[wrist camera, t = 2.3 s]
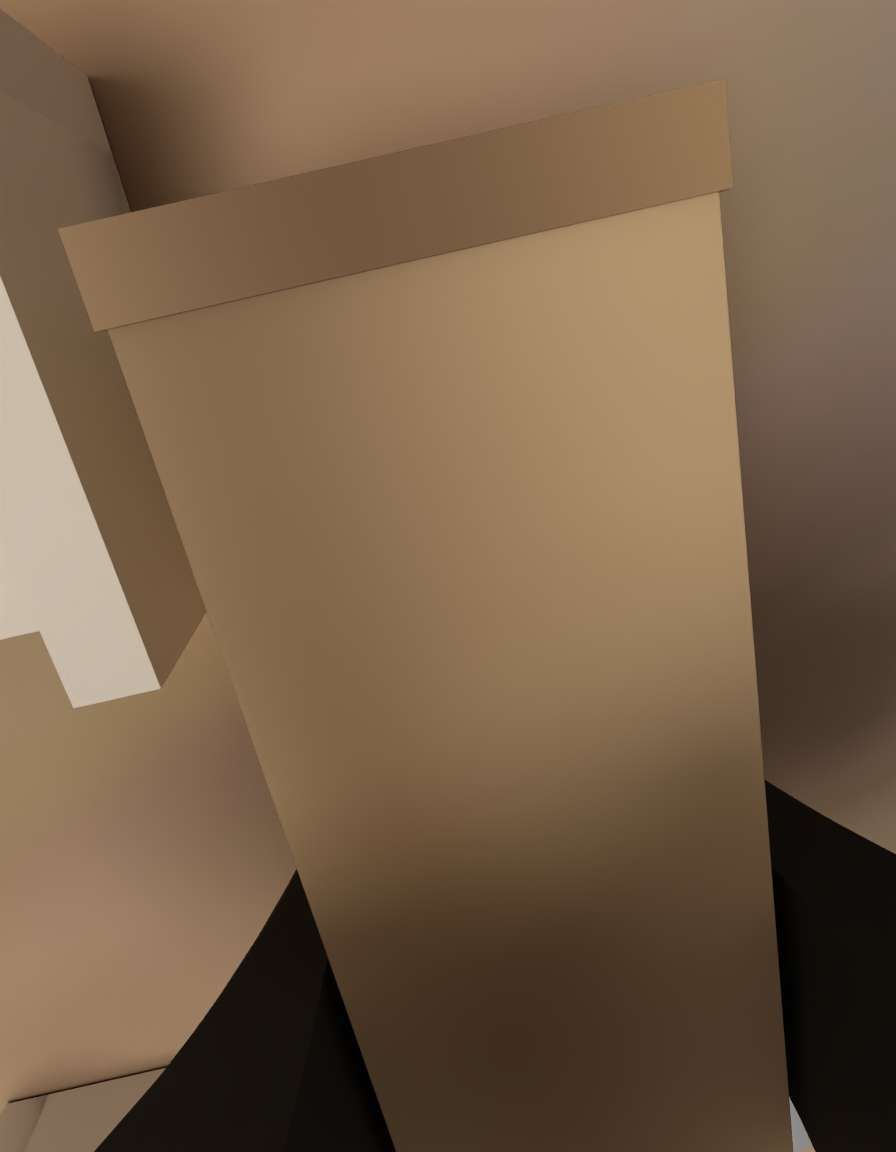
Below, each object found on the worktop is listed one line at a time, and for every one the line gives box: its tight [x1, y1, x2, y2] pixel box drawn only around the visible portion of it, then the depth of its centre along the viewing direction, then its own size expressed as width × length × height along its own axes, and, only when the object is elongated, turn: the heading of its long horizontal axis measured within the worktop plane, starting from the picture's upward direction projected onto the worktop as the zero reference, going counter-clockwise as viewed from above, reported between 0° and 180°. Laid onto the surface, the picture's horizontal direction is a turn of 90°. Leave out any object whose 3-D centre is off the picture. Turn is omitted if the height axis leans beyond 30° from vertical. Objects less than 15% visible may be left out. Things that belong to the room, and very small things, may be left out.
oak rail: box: [58, 79, 793, 1152], centre depth 10 cm, size 4×16×5 cm, turn 12°
